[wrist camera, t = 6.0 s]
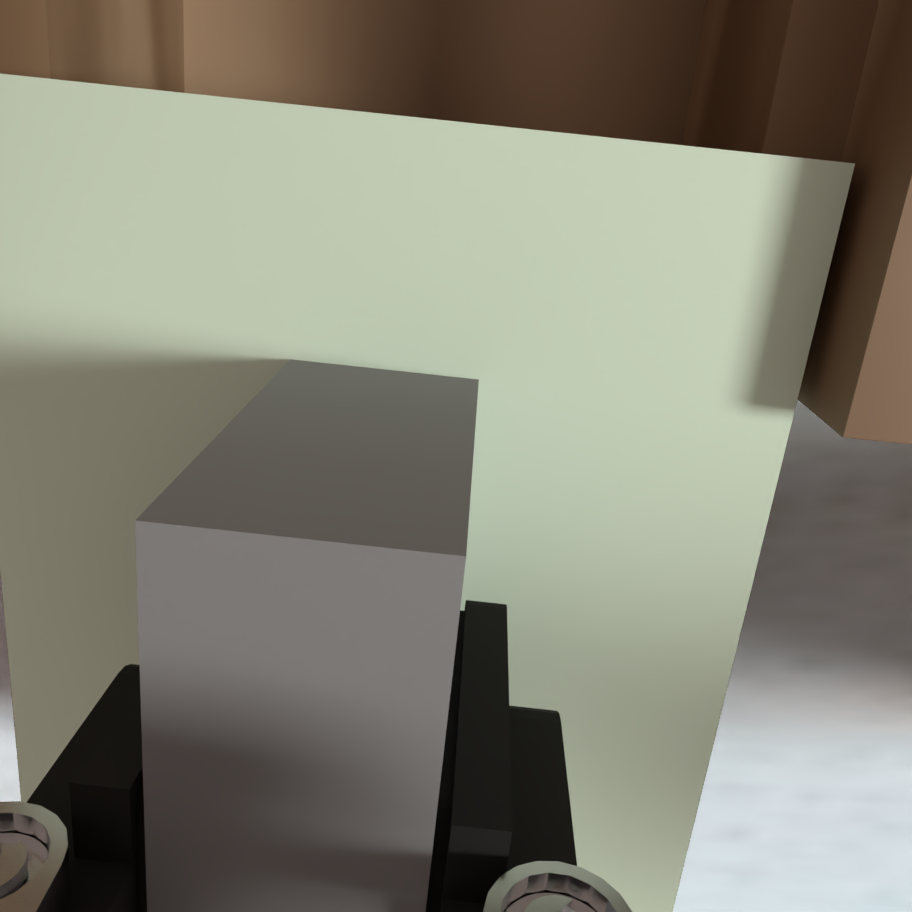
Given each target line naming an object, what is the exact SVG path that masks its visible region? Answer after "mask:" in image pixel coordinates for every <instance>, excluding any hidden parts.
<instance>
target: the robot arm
mask: <svg viewBox="0 0 912 912" xmlns="http://www.w3.org/2000/svg"><path fill="white" fill-rule="evenodd" d="M0 912H147V889H146V857H145V825H144V793H143V761H142V729H141V697H140V665H137V664H129V665H126V666H124V667H123V668H122V670H121V671H120V672H119V673H118V674H117V675H116V677H115V678H114V680H113V681H112V682H111V684H110V685H109V687H108V688H107V690H106V691H105V692H104V694H103V695H102V697H101V698H100V699H99V701H98V702H97V704H96V705H95V706H94V708H93V709H92V711H91V712H90V713H89V715H88V716H87V718H86V719H85V720H84V722H83V723H82V725H81V726H80V728H79V729H78V730H77V732H76V733H75V735H74V736H73V737H72V739H71V740H70V742H69V743H68V744H67V746H66V747H65V749H64V750H63V751H62V753H61V754H60V756H59V757H58V758H57V760H56V761H55V763H54V764H53V765H52V767H51V768H50V770H49V771H48V773H47V774H46V775H45V777H44V778H43V780H42V781H41V782H40V784H39V785H38V787H37V788H36V789H35V791H34V792H33V794H32V795H31V796H30V798H29V799H28V801H27V802H26V803H25V802H20V801H18V802H0ZM426 912H632V910H631V909H630V908H629V906H628V905H627V903H626V902H625V900H624V899H623V897H622V896H621V894H620V893H619V892H617V891H616V890H615V889H614V888H613V887H612V886H611V885H609V884H608V883H607V882H606V881H605V880H604V879H603V878H601V877H599V876H597V875H595V874H593V873H591V872H589V871H587V870H586V869H584V868H582V867H578V866H577V860H576V851H575V842H574V833H573V824H572V815H571V806H570V797H569V788H568V780H567V771H566V762H565V753H564V744H563V735H562V726H561V719H560V714H559V712H558V711H555V710H546V709H537V708H527V707H518V706H509V672H508V629H507V605H506V604H498V603H489V602H480V601H471V600H466V603H465V610H464V611H462V610H460V615H459V624H458V632H457V641H456V650H455V659H454V667H453V676H452V685H451V694H450V702H449V711H448V720H447V728H446V737H445V746H444V755H443V763H442V772H441V781H440V790H439V798H438V807H437V816H436V824H435V833H434V842H433V851H432V859H431V868H430V877H429V886H428V894H427V903H426Z"/></svg>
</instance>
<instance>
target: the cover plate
mask: <svg viewBox="0 0 912 912" xmlns="http://www.w3.org/2000/svg"><path fill="white" fill-rule="evenodd" d="M854 166H855V163H846V162H836V161H827V160H817V159H808V158H798V157H789V156H779V155H770V154H760V153H751V152H741V151H732V150H722V149H713V148H703V147H694V146H684V145H675V144H665V143H656V142H646V141H637V140H627V139H618V138H608V137H599V136H589V135H580V134H570V133H561V132H551V131H542V130H532V129H523V128H513V127H504V126H494V125H485V124H475V123H466V122H456V121H447V120H437V119H428V118H418V117H409V116H399V115H390V114H380V113H371V112H361V111H352V110H342V109H333V108H323V107H314V106H304V105H294V104H285V103H275V102H266V101H256V100H247V99H237V98H228V97H218V96H209V95H199V94H190V93H180V92H171V91H161V90H152V89H142V88H133V87H123V86H114V85H104V84H95V83H85V82H76V81H66V80H57V79H47V78H38V77H28V76H19V75H9V74H0V574H1V585H2V596H3V607H4V618H5V629H6V640H7V651H8V661H9V672H10V683H11V694H12V705H13V716H14V727H15V738H16V748H17V759H18V770H19V781H20V792H21V802H25V803H26V802H27V801H28V799H29V798H30V796H31V795H32V794H33V792H34V791H35V789H36V788H37V787H38V785H39V784H40V782H41V781H42V780H43V778H44V777H45V775H46V774H47V773H48V771H49V770H50V768H51V767H52V765H53V764H54V763H55V761H56V760H57V758H58V757H59V756H60V754H61V753H62V751H63V750H64V749H65V747H66V746H67V744H68V743H69V742H70V740H71V739H72V737H73V736H74V735H75V733H76V732H77V730H78V729H79V728H80V726H81V725H82V723H83V722H84V720H85V719H86V718H87V716H88V715H89V713H90V712H91V711H92V709H93V708H94V706H95V705H96V704H97V702H98V701H99V699H100V698H101V697H102V695H103V694H104V692H105V691H106V690H107V688H108V687H109V685H110V684H111V682H112V681H113V680H114V678H115V677H116V675H117V674H118V673H119V672H120V671H121V670H122V668H123V667H124V666H126V665H129V664H137V665H140V697H141V729H142V761H143V793H144V825H145V857H146V889H147V912H426V903H427V894H428V886H429V877H430V868H431V859H432V851H433V842H434V833H435V824H436V816H437V807H438V798H439V790H440V781H441V772H442V763H443V755H444V746H445V737H446V728H447V720H448V711H449V702H450V694H451V685H452V676H453V667H454V659H455V650H456V641H457V632H458V624H459V615H460V610H462V611H464V610H465V603H466V600H471V601H480V602H489V603H498V604H506V605H507V629H508V672H509V706H518V707H527V708H537V709H546V710H555V711H558V712H559V714H560V719H561V726H562V735H563V744H564V753H565V762H566V771H567V780H568V788H569V797H570V806H571V815H572V824H573V833H574V842H575V851H576V860H577V866H578V867H582V868H584V869H586V870H587V871H589V872H591V873H593V874H595V875H597V876H599V877H601V878H603V879H604V880H605V881H606V882H607V883H608V884H609V885H611V886H612V887H613V888H614V889H615V890H616V891H617V892H619V893H620V894H621V896H622V897H623V899H624V900H625V902H626V903H627V905H628V906H629V908H630V909H631V910H632V912H673V908H674V904H675V899H676V895H677V891H678V887H679V883H680V879H681V875H682V871H683V867H684V863H685V858H686V854H687V850H688V846H689V842H690V838H691V834H692V830H693V826H694V822H695V818H696V813H697V809H698V805H699V801H700V797H701V793H702V789H703V785H704V781H705V777H706V772H707V768H708V764H709V760H710V756H711V752H712V748H713V744H714V740H715V736H716V731H717V727H718V723H719V719H720V715H721V711H722V707H723V703H724V699H725V695H726V690H727V686H728V682H729V678H730V674H731V670H732V666H733V662H734V658H735V654H736V649H737V645H738V641H739V637H740V633H741V629H742V625H743V621H744V617H745V613H746V608H747V604H748V600H749V596H750V592H751V588H752V584H753V580H754V576H755V572H756V568H757V563H758V559H759V555H760V551H761V547H762V543H763V539H764V535H765V531H766V527H767V522H768V518H769V514H770V510H771V506H772V502H773V498H774V494H775V490H776V486H777V481H778V477H779V473H780V469H781V465H782V461H783V457H784V453H785V449H786V445H787V440H788V436H789V432H790V428H791V424H792V420H793V416H794V412H795V408H796V404H797V399H798V395H799V391H800V387H801V383H802V379H803V375H804V371H805V367H806V363H807V359H808V354H809V350H810V346H811V342H812V338H813V334H814V330H815V326H816V322H817V318H818V313H819V309H820V305H821V301H822V297H823V293H824V289H825V285H826V281H827V277H828V272H829V268H830V264H831V260H832V256H833V252H834V248H835V244H836V240H837V236H838V231H839V227H840V223H841V219H842V215H843V211H844V207H845V203H846V199H847V195H848V190H849V186H850V182H851V178H852V174H853V170H854Z"/></svg>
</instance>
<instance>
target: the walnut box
mask: <svg viewBox="0 0 912 912" xmlns="http://www.w3.org/2000/svg"><path fill="white" fill-rule="evenodd" d="M0 74H9V75H19V76H28V77H38V78H47V79H57V80H66V81H76V82H85V83H95V84H104V85H114V86H123V87H133V88H142V89H152V90H161V91H171V92H180V93H190V94H199V95H209V96H218V97H228V98H237V99H247V100H256V101H266V102H275V103H285V104H294V105H304V106H314V107H323V108H333V109H342V110H352V111H361V112H371V113H380V114H390V115H399V116H409V117H418V118H428V119H437V120H447V121H456V122H466V123H475V124H485V125H494V126H504V127H513V128H523V129H532V130H542V131H551V132H561V133H570V134H580V135H589V136H599V137H608V138H618V139H627V140H637V141H646V142H656V143H665V144H675V145H684V146H694V147H703V148H713V149H722V150H732V151H741V152H751V153H760V154H770V155H779V156H789V157H798V158H808V159H817V160H827V161H836V162H846V163H855V166H854V170H853V174H852V178H851V182H850V186H849V190H848V195H847V199H846V203H845V207H844V211H843V215H842V219H841V223H840V227H839V231H838V236H837V240H836V244H835V248H834V252H833V256H832V260H831V264H830V268H829V272H828V277H827V281H826V285H825V289H824V293H823V297H822V301H821V305H820V309H819V313H818V318H817V322H816V326H815V330H814V334H813V338H812V342H811V346H810V350H809V354H808V359H807V363H806V367H805V371H804V375H803V379H802V383H801V387H800V391H799V395H798V400H799V401H801V402H802V403H803V404H804V405H805V406H806V407H808V408H809V409H810V410H811V411H812V412H814V413H815V414H816V415H817V416H818V417H819V418H821V419H822V420H823V421H824V422H825V423H827V424H828V425H829V426H830V427H831V428H833V429H834V430H835V431H836V432H837V433H838V434H840V435H841V436H842V437H844V438H854V439H864V440H874V441H883V442H893V443H903V444H912V0H0Z"/></svg>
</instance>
